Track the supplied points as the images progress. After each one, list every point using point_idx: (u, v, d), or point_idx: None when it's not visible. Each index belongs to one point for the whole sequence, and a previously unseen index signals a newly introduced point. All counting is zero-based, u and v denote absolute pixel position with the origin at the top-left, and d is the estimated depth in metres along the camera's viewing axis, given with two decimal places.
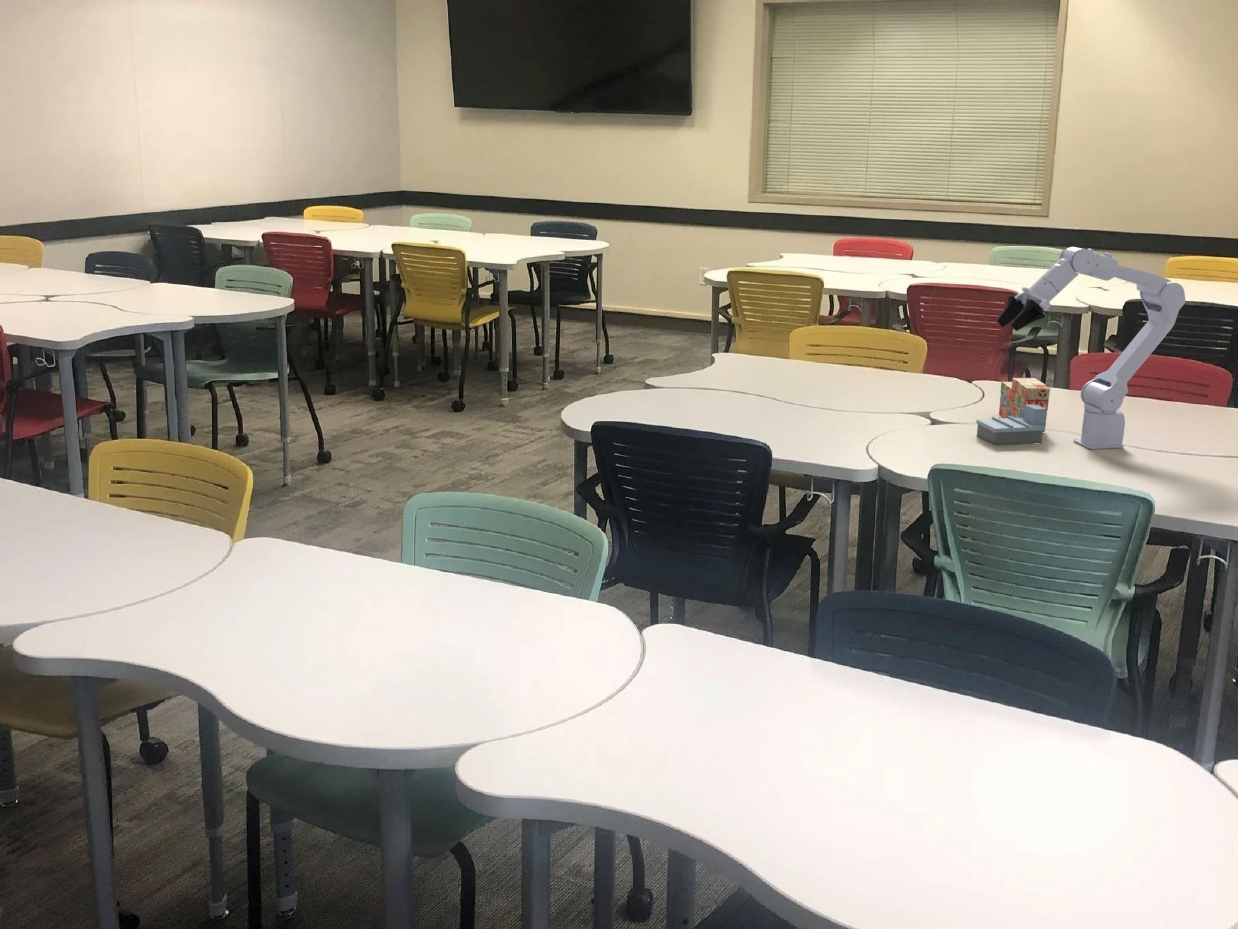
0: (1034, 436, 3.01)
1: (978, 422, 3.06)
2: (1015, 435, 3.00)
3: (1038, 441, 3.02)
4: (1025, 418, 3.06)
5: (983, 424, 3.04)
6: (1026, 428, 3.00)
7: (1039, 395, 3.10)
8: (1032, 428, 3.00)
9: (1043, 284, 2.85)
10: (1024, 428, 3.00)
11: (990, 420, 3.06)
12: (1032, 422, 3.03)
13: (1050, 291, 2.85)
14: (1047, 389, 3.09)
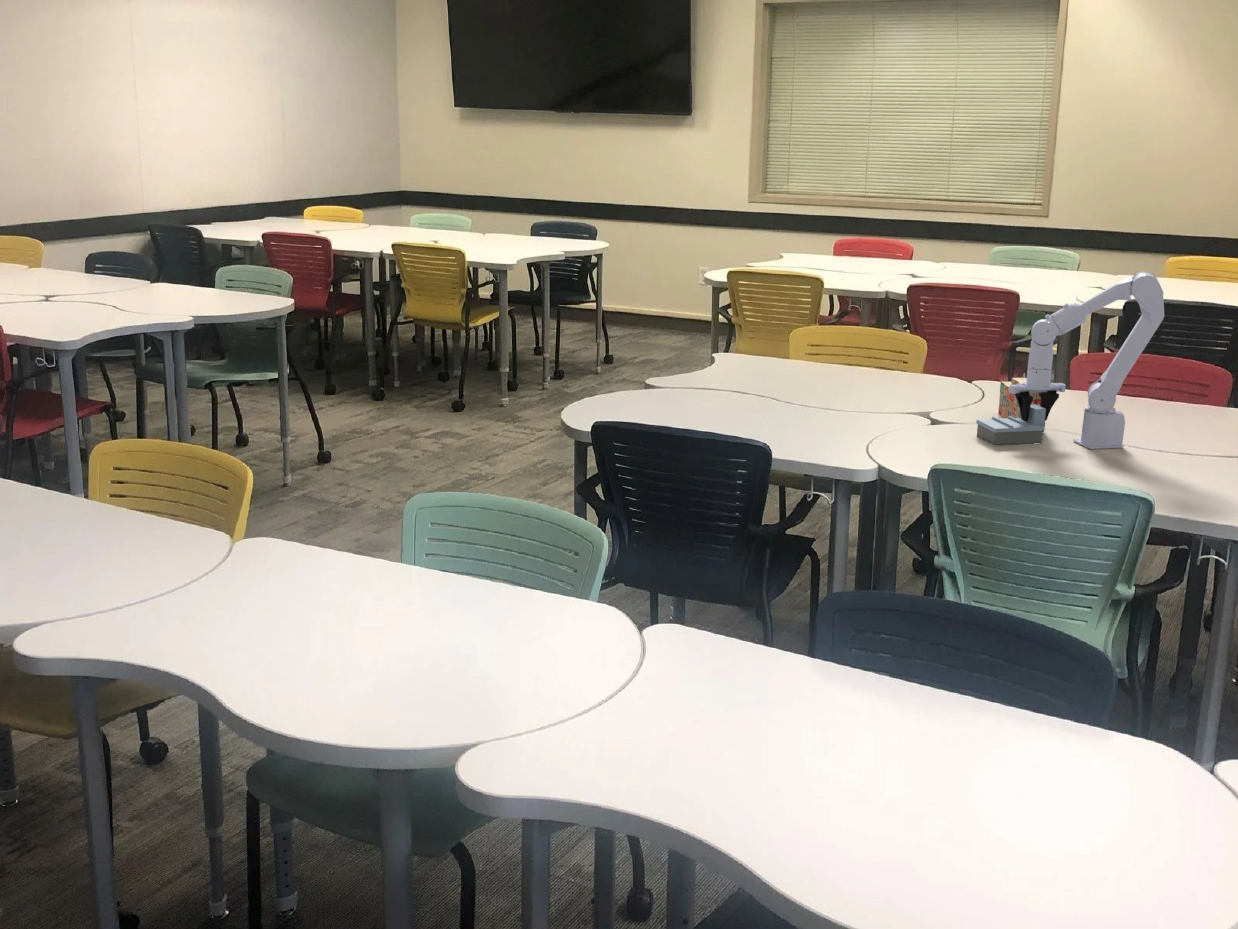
0: (1034, 436, 3.01)
1: (978, 422, 3.06)
2: (1015, 435, 3.00)
3: (1038, 441, 3.02)
4: None
5: (983, 424, 3.04)
6: (1026, 428, 3.00)
7: (1038, 395, 3.10)
8: (1032, 428, 3.00)
9: None
10: (1024, 428, 3.00)
11: (990, 420, 3.06)
12: (1032, 422, 3.03)
13: (1029, 373, 3.01)
14: None
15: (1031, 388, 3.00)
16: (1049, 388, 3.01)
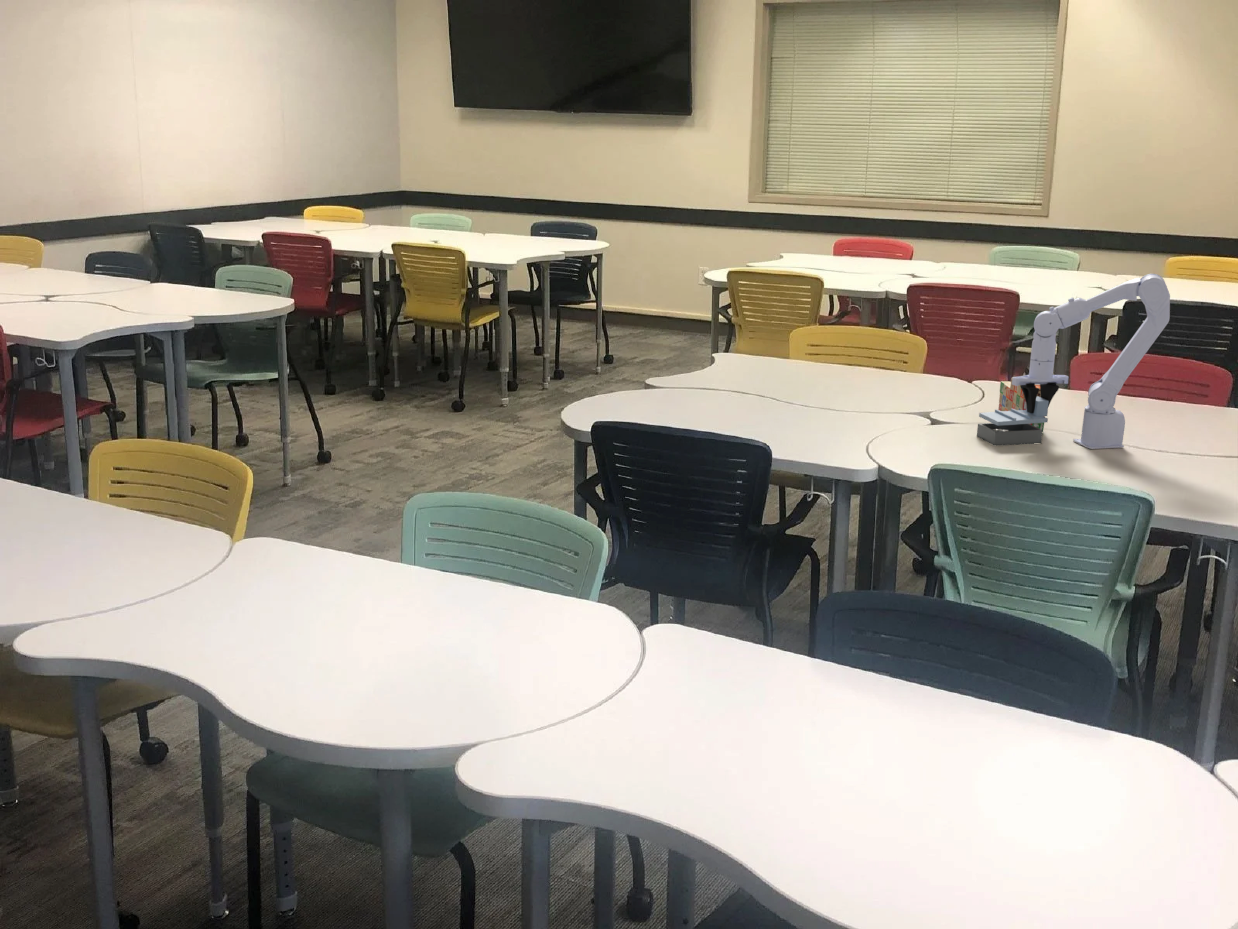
0: (1034, 436, 3.01)
1: (981, 415, 3.06)
2: (1015, 435, 3.00)
3: (1038, 441, 3.02)
4: None
5: (986, 417, 3.03)
6: (1029, 420, 2.99)
7: (1037, 395, 3.10)
8: (1035, 420, 3.00)
9: None
10: (1027, 421, 2.99)
11: (993, 413, 3.06)
12: (1035, 414, 3.03)
13: (1031, 365, 3.00)
14: None
15: (1034, 380, 3.00)
16: (1052, 380, 3.00)
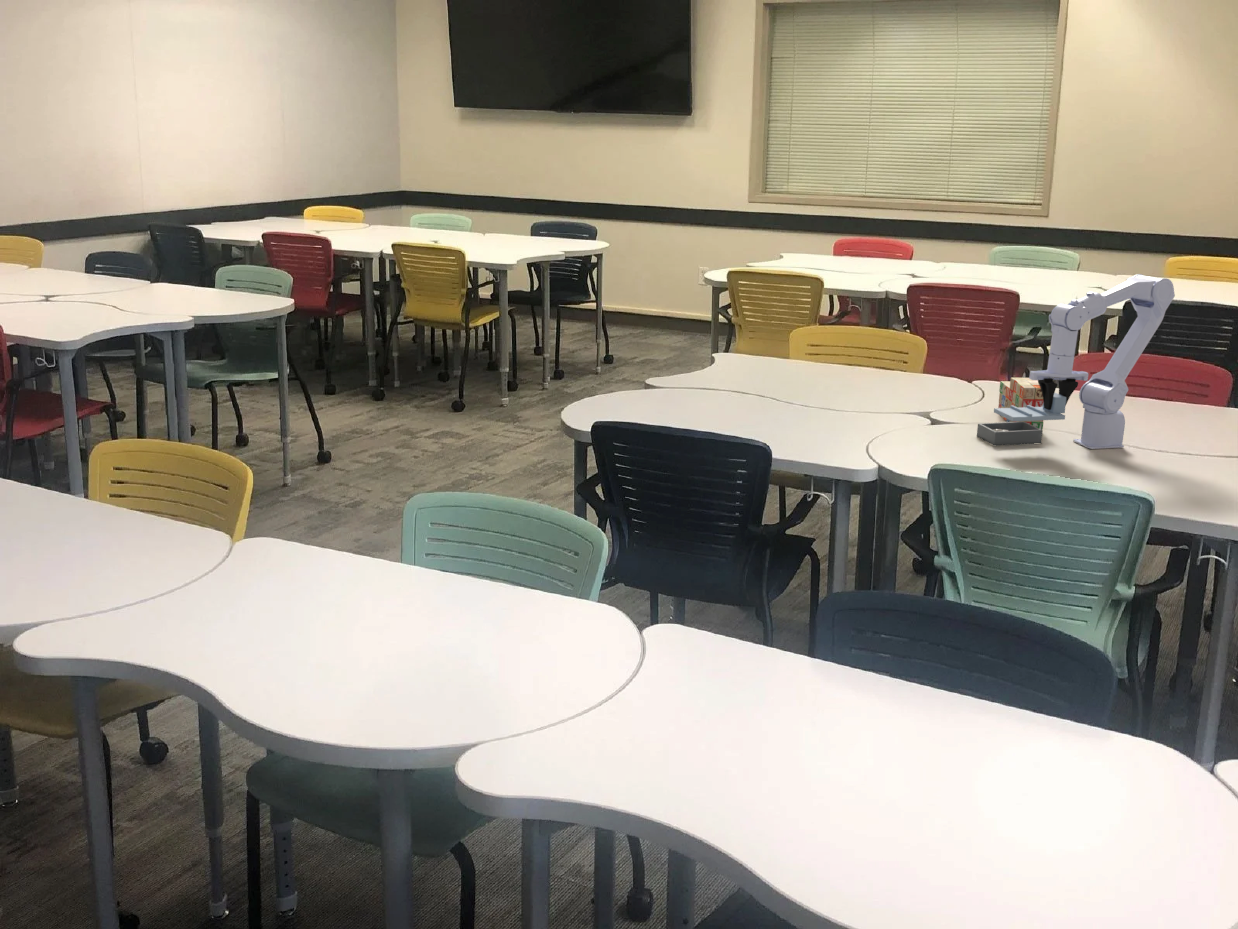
0: (1034, 436, 3.01)
1: (995, 411, 2.95)
2: (1015, 435, 3.00)
3: (1038, 441, 3.02)
4: None
5: (1001, 413, 2.93)
6: (1045, 417, 2.89)
7: (1037, 395, 3.10)
8: (1052, 417, 2.89)
9: None
10: (1043, 417, 2.89)
11: (1008, 409, 2.95)
12: (1052, 411, 2.92)
13: (1050, 359, 2.90)
14: None
15: (1052, 375, 2.89)
16: (1071, 376, 2.89)
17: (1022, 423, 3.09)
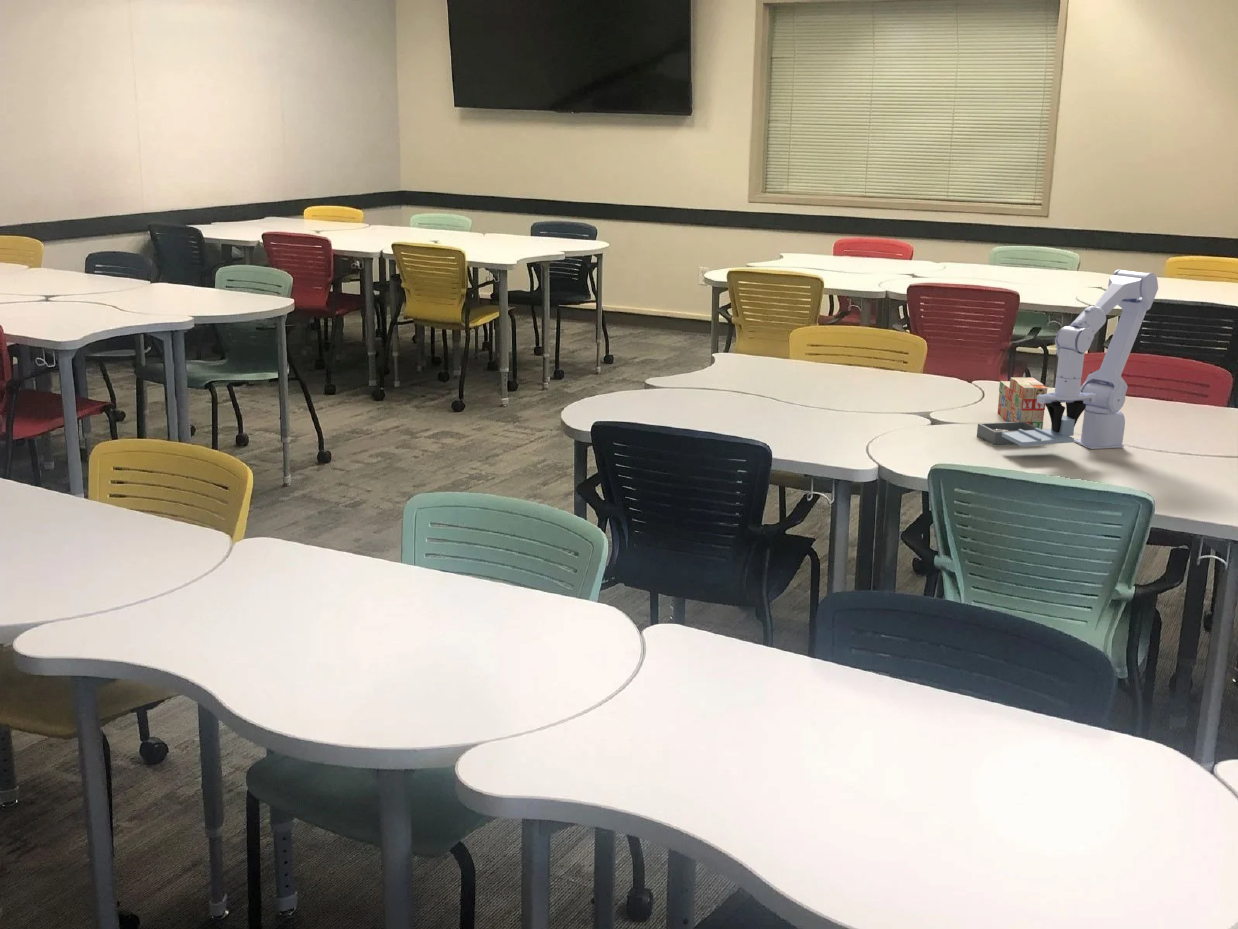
0: None
1: (1004, 435, 2.93)
2: None
3: None
4: None
5: (1009, 437, 2.91)
6: (1055, 440, 2.87)
7: (1036, 394, 3.10)
8: (1061, 440, 2.87)
9: None
10: (1053, 441, 2.86)
11: (1016, 433, 2.93)
12: (1060, 434, 2.90)
13: (1057, 382, 2.88)
14: (1044, 388, 3.10)
15: (1060, 398, 2.87)
16: (1079, 398, 2.87)
17: (1022, 423, 3.09)
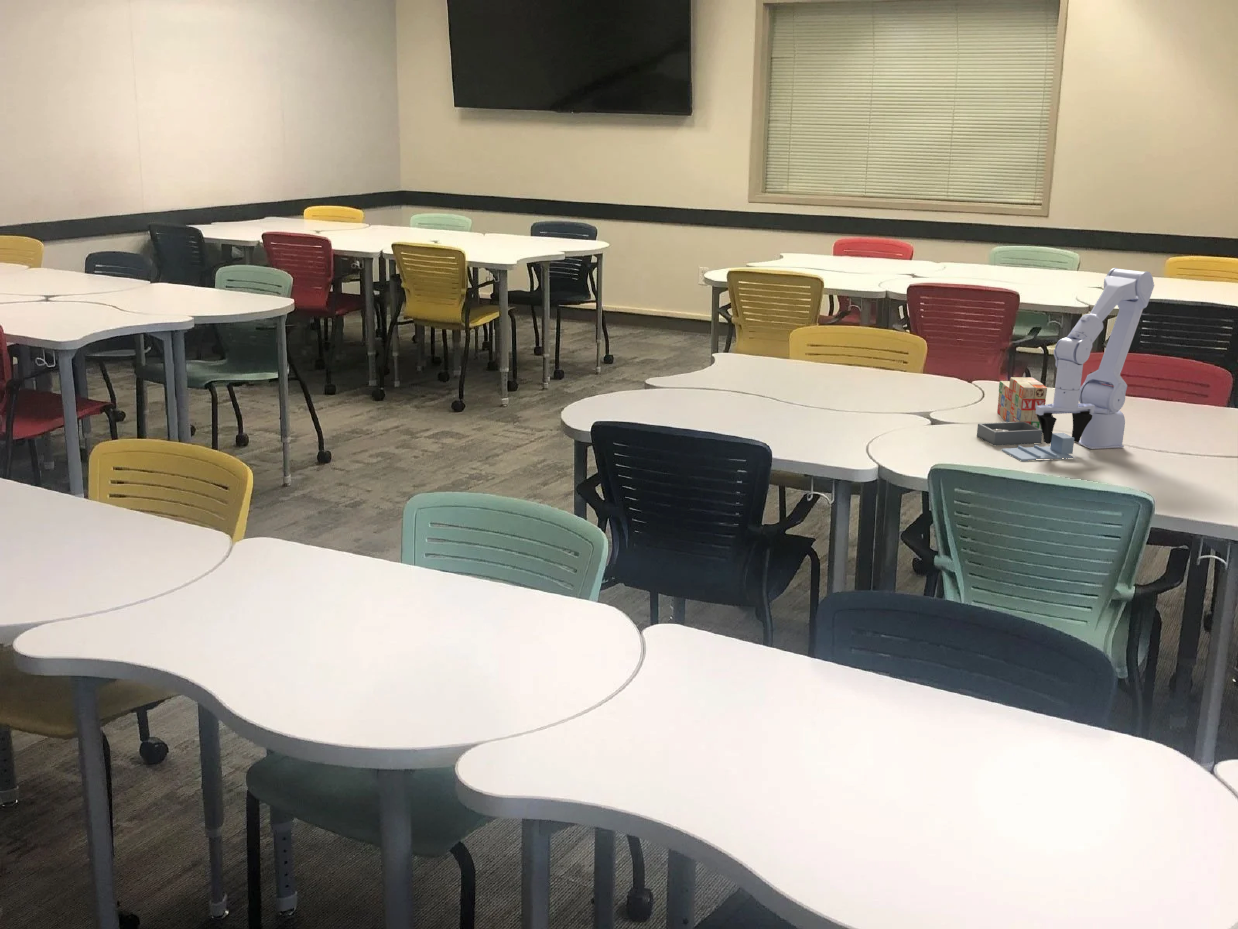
0: (1034, 436, 3.01)
1: (1003, 451, 2.94)
2: (1015, 435, 3.00)
3: (1038, 441, 3.02)
4: (1052, 447, 2.94)
5: (1009, 454, 2.92)
6: (1054, 458, 2.88)
7: (1036, 394, 3.11)
8: (1060, 458, 2.88)
9: None
10: (1052, 458, 2.88)
11: (1016, 449, 2.94)
12: (1060, 452, 2.91)
13: (1056, 393, 2.88)
14: (1044, 388, 3.10)
15: (1059, 409, 2.87)
16: (1077, 409, 2.88)
17: (1022, 423, 3.09)
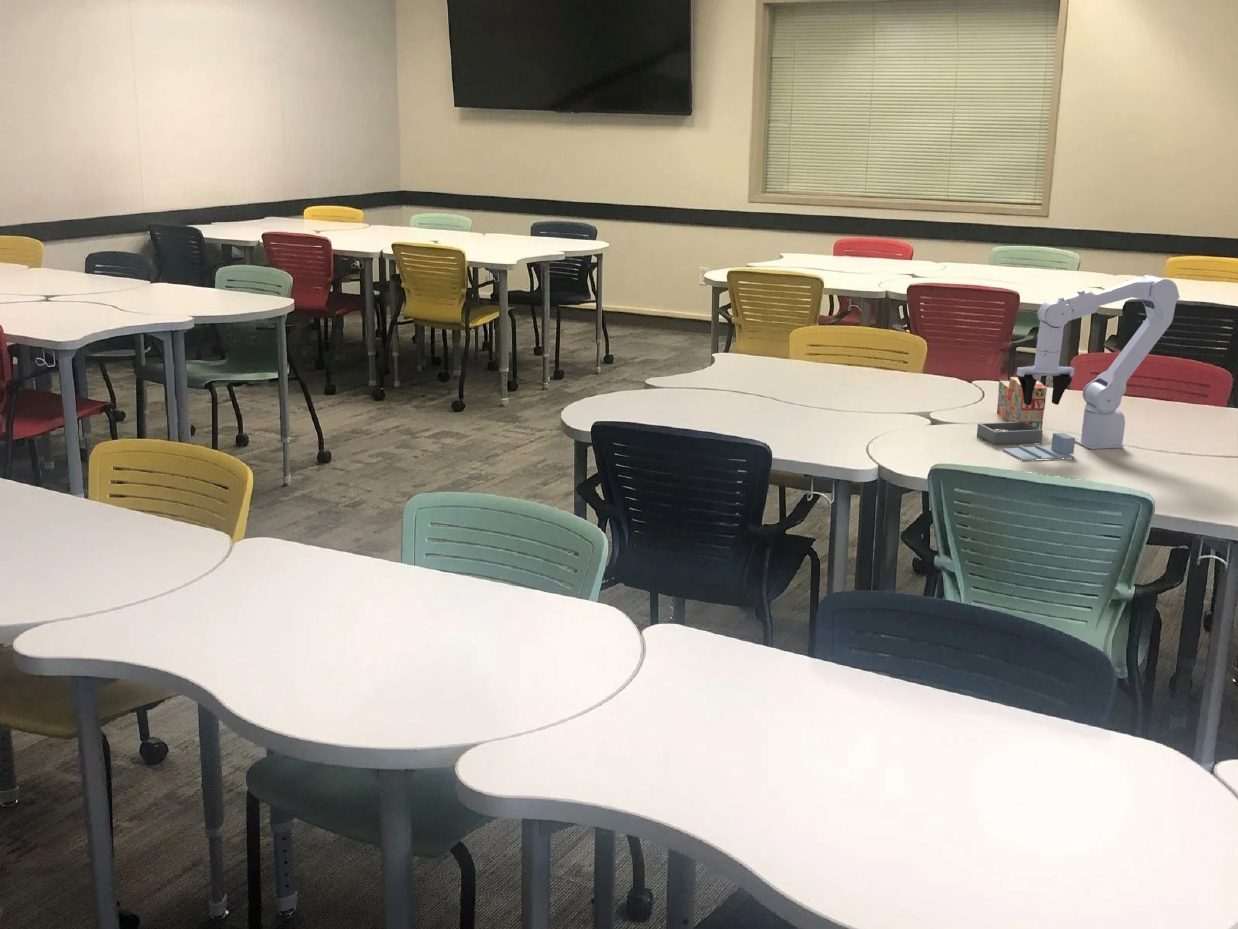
0: (1034, 436, 3.01)
1: (1004, 451, 2.94)
2: (1015, 435, 3.00)
3: (1038, 441, 3.02)
4: (1053, 447, 2.94)
5: (1010, 454, 2.92)
6: (1055, 458, 2.88)
7: (1036, 394, 3.11)
8: (1061, 458, 2.88)
9: None
10: None
11: (1017, 449, 2.94)
12: (1061, 452, 2.91)
13: (1037, 355, 2.95)
14: (1044, 388, 3.10)
15: (1039, 371, 2.94)
16: (1058, 371, 2.94)
17: (1022, 423, 3.09)
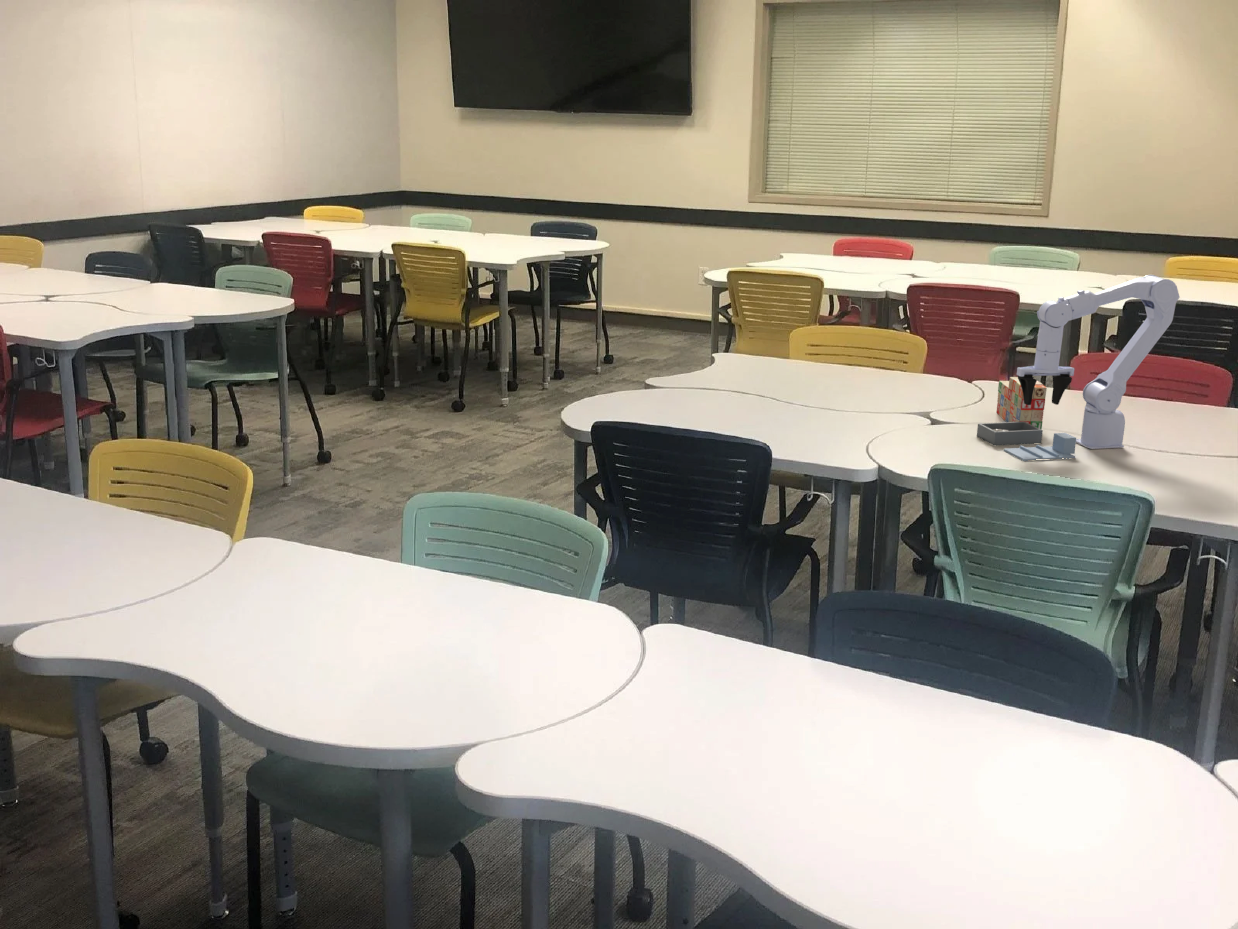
0: (1034, 436, 3.01)
1: (1005, 451, 2.94)
2: (1015, 435, 3.00)
3: (1038, 441, 3.02)
4: (1054, 447, 2.94)
5: (1011, 454, 2.92)
6: (1056, 458, 2.88)
7: (1036, 394, 3.11)
8: None
9: None
10: (1054, 458, 2.88)
11: (1018, 449, 2.94)
12: (1062, 452, 2.91)
13: (1037, 355, 2.95)
14: (1044, 388, 3.10)
15: (1039, 371, 2.94)
16: (1057, 371, 2.94)
17: (1022, 423, 3.09)
